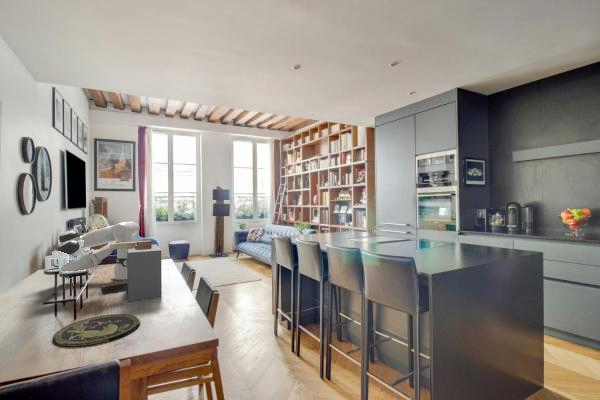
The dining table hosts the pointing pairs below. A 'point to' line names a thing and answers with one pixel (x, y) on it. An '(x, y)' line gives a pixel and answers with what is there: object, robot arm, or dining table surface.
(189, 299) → the dining table surface
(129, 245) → the birch lath
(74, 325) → the decorative plate
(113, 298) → the dining table surface
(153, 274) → the grey upright box
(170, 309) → the dining table surface
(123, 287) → the tablet
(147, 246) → the walnut offcuts
